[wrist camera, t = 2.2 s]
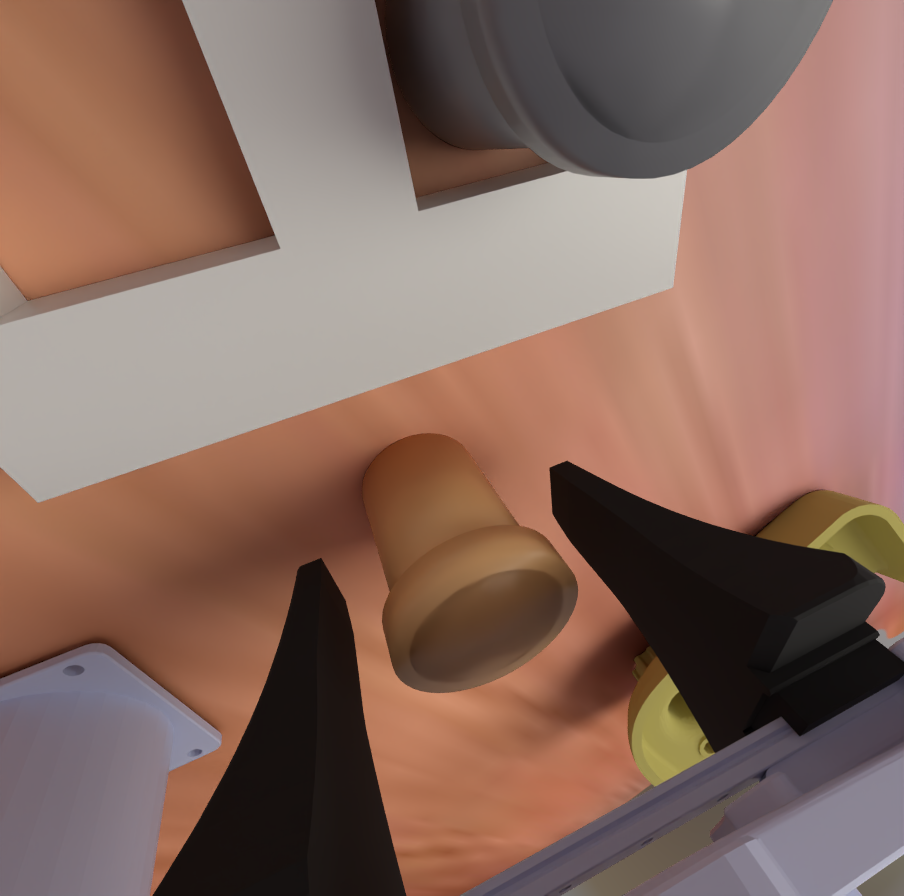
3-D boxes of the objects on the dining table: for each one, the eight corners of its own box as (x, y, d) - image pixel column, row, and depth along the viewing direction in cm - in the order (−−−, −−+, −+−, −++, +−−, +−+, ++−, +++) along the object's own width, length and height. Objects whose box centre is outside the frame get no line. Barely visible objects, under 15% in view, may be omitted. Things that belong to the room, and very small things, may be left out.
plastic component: (875, 485, 23) (962, 603, 25) (762, 456, 30) (836, 549, 32) (597, 735, 24) (702, 829, 26) (553, 649, 31) (638, 728, 33)
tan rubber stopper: (373, 554, 16) (419, 716, 11) (328, 454, 13) (363, 615, 9) (491, 506, 17) (578, 639, 12) (472, 402, 14) (576, 523, 9)
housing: (70, 452, 11) (38, 503, 9) (-951, -672, 4) (-1885, -1311, 2) (625, 272, 13) (672, 287, 12) (669, -572, 6) (804, -814, 5)
